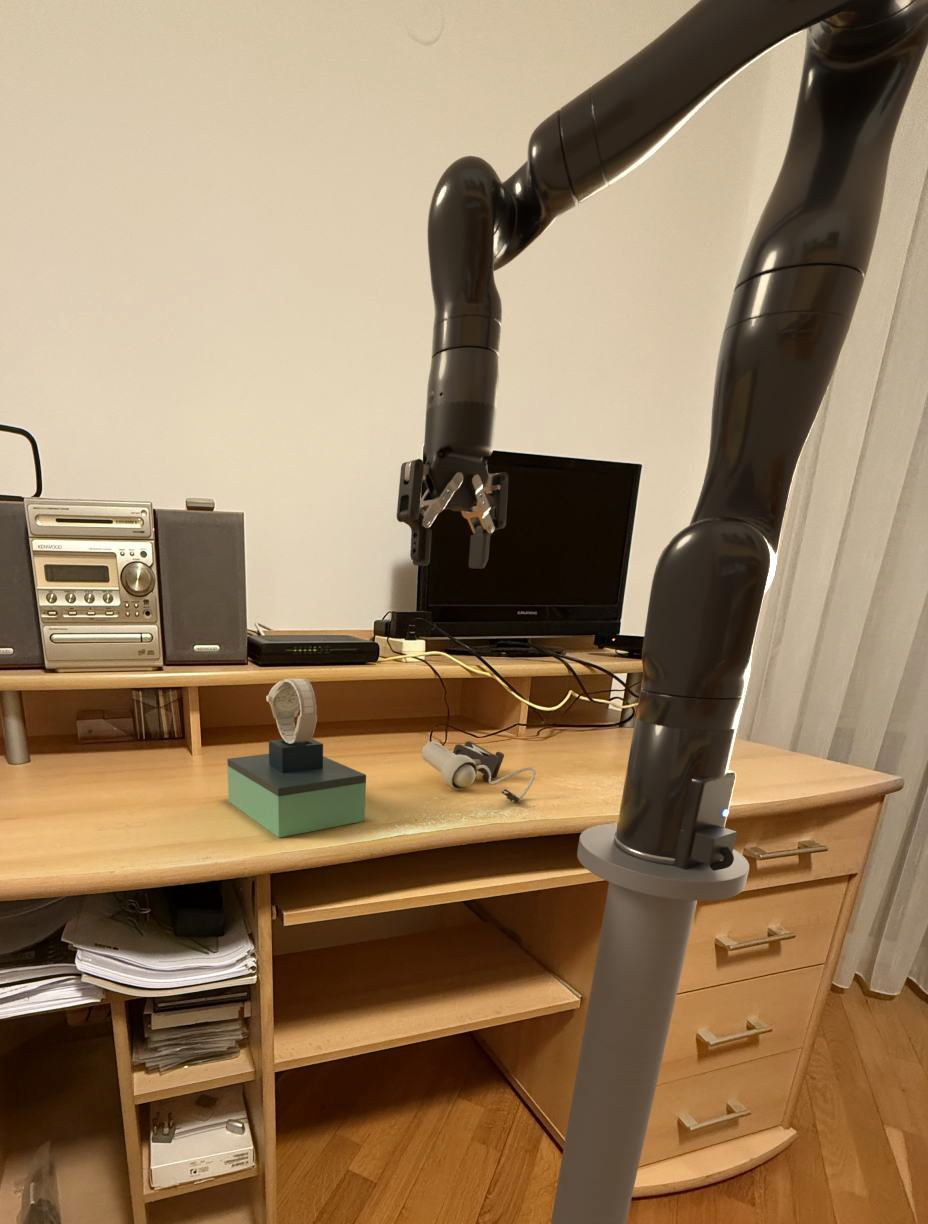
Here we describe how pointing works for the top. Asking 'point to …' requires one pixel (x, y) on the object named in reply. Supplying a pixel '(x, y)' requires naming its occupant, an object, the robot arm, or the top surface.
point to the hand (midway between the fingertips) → (449, 566)
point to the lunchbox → (296, 795)
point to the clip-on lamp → (468, 765)
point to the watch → (297, 742)
